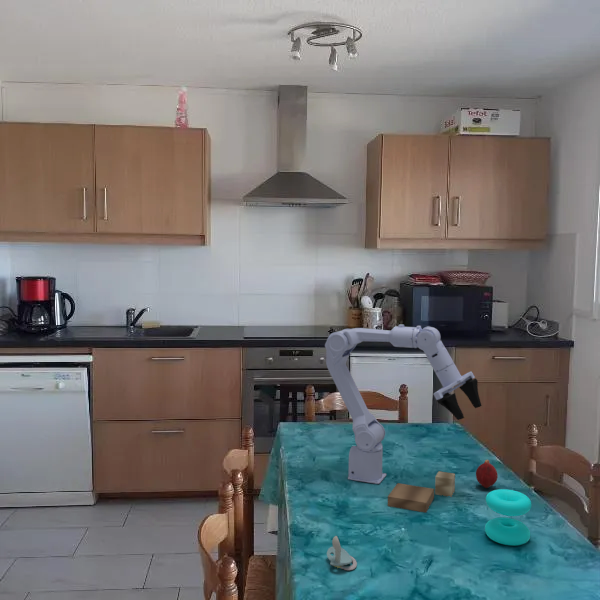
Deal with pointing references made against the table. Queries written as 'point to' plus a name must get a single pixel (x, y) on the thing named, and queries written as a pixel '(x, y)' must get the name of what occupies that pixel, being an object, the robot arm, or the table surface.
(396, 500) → the walnut block
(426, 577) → the table surface
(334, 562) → the pacifier
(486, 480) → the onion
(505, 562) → the table surface
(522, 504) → the donuts
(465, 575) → the table surface
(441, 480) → the maple block
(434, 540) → the table surface
